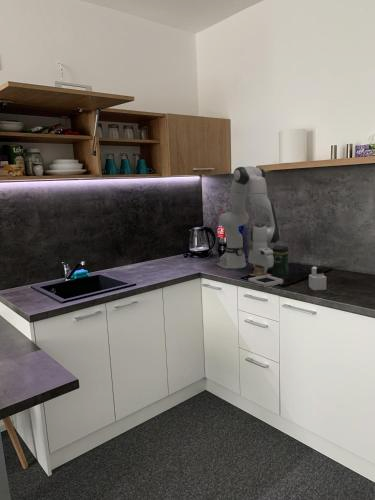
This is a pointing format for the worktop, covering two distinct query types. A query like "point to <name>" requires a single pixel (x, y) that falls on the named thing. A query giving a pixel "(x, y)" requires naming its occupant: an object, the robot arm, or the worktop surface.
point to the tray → (268, 284)
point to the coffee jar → (280, 260)
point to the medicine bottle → (317, 278)
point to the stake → (257, 276)
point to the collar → (259, 271)
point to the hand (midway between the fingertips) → (260, 272)
